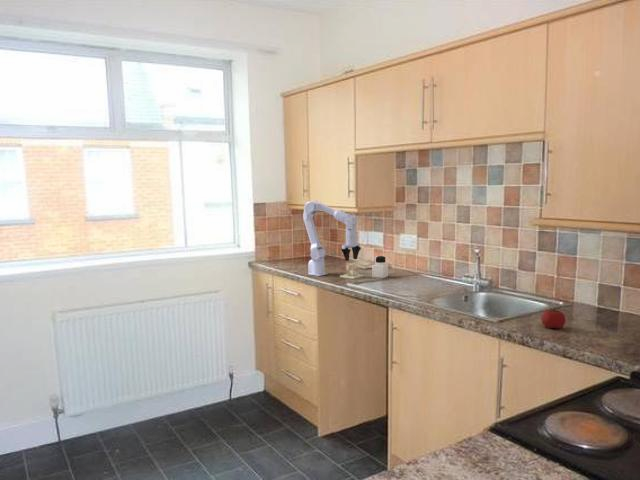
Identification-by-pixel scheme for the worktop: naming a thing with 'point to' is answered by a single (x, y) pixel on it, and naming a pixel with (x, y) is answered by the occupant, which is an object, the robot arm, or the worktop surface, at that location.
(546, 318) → the tomato
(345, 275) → the tile
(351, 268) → the beech block
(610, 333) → the worktop surface
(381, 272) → the medicine bottle
